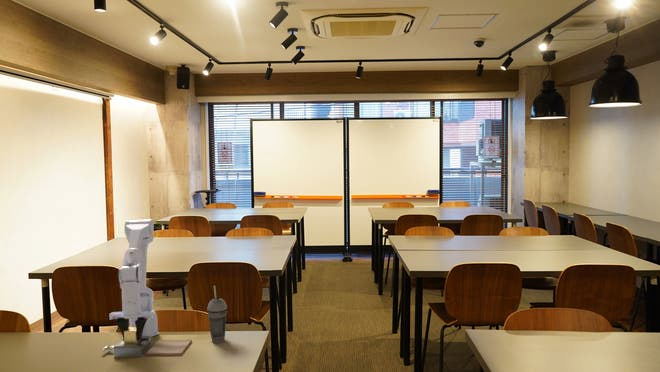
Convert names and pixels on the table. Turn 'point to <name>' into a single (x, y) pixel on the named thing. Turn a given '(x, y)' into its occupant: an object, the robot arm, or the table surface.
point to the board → (168, 347)
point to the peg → (131, 336)
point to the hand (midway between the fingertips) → (132, 339)
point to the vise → (130, 348)
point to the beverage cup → (217, 318)
